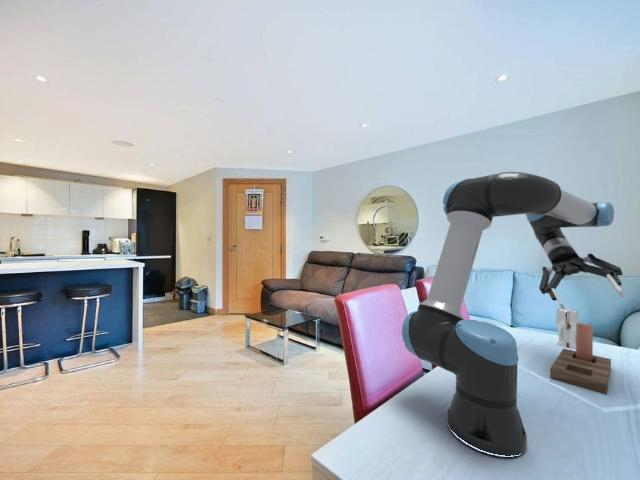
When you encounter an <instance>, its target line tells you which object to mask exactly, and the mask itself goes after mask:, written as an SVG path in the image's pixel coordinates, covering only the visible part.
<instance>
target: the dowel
mask: <svg viewBox="0 0 640 480" xmlns="http://www.w3.org/2000/svg"><path fill="white" fill-rule="evenodd" d="M593 331H594V325H591V324H588V323H583V322H579V323H576V348H575V351H576V359H579V360H584V361H588V362H593V352H594V350H593V345H594V342H593V341H594V339H593V338H594V336H593V335H594V333H593Z"/></svg>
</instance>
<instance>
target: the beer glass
mask: <svg viewBox="0 0 640 480" xmlns="http://www.w3.org/2000/svg"><path fill="white" fill-rule="evenodd" d="M579 312H580V311H578V310H575V309H569V308H565V309H564V310H562V308H557V309H556V317H555V324H556V329H557V333H558V341H557V345H558V346H560V347H563V348H566V349H567V348H568V349H576V323H580V314H579Z"/></svg>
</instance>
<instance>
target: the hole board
mask: <svg viewBox="0 0 640 480" xmlns="http://www.w3.org/2000/svg"><path fill="white" fill-rule="evenodd" d="M611 366H612V359H611V358H609V357H604V356H603V357H602V356H597V355H593V362H588V361H584V360H579V359H576V350H572V349H567V348H563V349H562V350H561V351H560V352H559V354H558V356H557V357H556V359H555V361H554V362H553V364H552V365H551V367H550V370H549V375H550V376H549V377H550V378H549V379H551V380H550V381H549V382H550V383H554V384H555V381H558V382H561V383H563V384H564V383H565V384H568V385H571V386H575V387H578V388H582V389H586V390H588V391H591V392H596V393H599V394H602V395H606V396H607V394H608V389H609V388H608V387H609V382H610V381H609V380H610V376H611V370H612V367H611ZM552 380H555V381H552Z"/></svg>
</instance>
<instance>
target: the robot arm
mask: <svg viewBox="0 0 640 480" xmlns="http://www.w3.org/2000/svg"><path fill="white" fill-rule="evenodd" d="M442 205H443V212H444V214H445V215H446V220H447V221H448V222H449V227H448V230H447V232H446V233H447V234H446V235H445V236H446V237H445V239H444V243H443V246H442V249H441V253H440V255H439V260H438V261H437V264H436V265H437V266H436V269H435V272H434V274H433V275H434V276H433V278H432V281H431V284H430V287H429V288H430V289H429V291H428V295H427V298H426V299H425V300H423V301H422V302H420V303H419V304H418V308H417V310H415V311H411V312H409V313H408V315H406V316H405V318H404V320H403V323H402V325H401V326H402V327H401V337H402V341H403V343H404V346H405V348H406V349H407V351H408V352H409V353H410V354H412V355H414V356H416V357H417V358H418V359H420V360H422V361H425V362H428V363H430V364H432V365H434V366H436V367H439V368H440V369H443V370H446V371H447V372H450V373H452V374H454V375H455V391H454V393H453V397H452V400H451V402H450V406H449V408H448V409H447V413H446V417H447V418H446V423H447V422H448V425H449V427H450V429H451V430H452V431H453V432H454V433H455V434H456V435H457V436H458V437H459V438H461V439H462V440H464V441H465V442H467V443H468V444H470V445H472V446H474V447H476V448H478V449H480V450H483V451H486V452H489V453H493V454H498V455H505V456H511V455H513V456H514V455H519V454H521V453H523V452H524V451H525V450H526V451H527V447H528V446H527V445H528V444H527V443H528V437H527V431H526V429H525V427H524V423H523V420H522V417H521V414H520V410H519V409H518V404H517V403H518V402H517V401H518V395H517V393H518V362H519V355H518V347H517V340H516V338H515V337H514V336H513V335H512V334H511V333H510V332H509V331H508V330H506V329H504V328H502V327H500V326H498V325H496V324H493V323H489V322H487V321H479V320H476V319H465V317H464V315H463V314H462V312H461V308H462V305H463V301H464V298H465V295H466V293H467V287H468V284H469V281H470V278H471V274H472V270H473V267H474V263H475V259H476V255H477V252H478V250H479V249H478V248H479V245H480V242H481V237H482V234H483V231H485V230H488V229H489V228H490V227H491V225H492V222H493V218H495V217H504V216H505V217H506V216H507V217H508V216H515V215H525V216H526V219H527V221H528V222H529V224H530V226H531V228H532V230H533V234H534V236H535V239H537V241H538V243H539V244H540V246H541V247H542V249H543V251H544V253H545V255H546V257H547V258H548V260H549V263H551V265H552V266H550V267H547V266H543V267H542V275H541V280H540V282H539V288H538V289H539V290H540V292H541V294H542V295H545V294H548V295H549V297H550V299H551V301H557V303H558V304H559V306H560V309H562V310H564V309H566V308H565V306H564V303H563V302H562V301H561V299H560V296H559V295H558V292H557V291H556V289H557V288H558V286H559V284H560V283H561V281H562V280H564V278H565V277H566V276H568V277H569V276H572V275H573V274H574V275H575V274H579V273H580V272H582V273H584V274H585V273H586V274H587V273H588V274H592V275H597V276H601V277H603V278H607V280H608V282H609V283H610V285H611V286H612V287H613V289H615V291H616V292H617V294H618V295H619V297H621V298H625V294H624V291H623V290H622V288H621V286H622V281H621V280H620V278H619V277H618V276H622V275H623V271H622V268H621V267H619V266H618V265H615V264H613V263H610V262H608V261H605V260H603V259H601V258H598V257H596V256H595V255H594V254H593V253H588V254H587V256H586V257H580V255H578V252H576V249H574V247H573V246H572V244H571V243H570V242H569V240H568V239H567V238H566V235H564V233H563V231H562V230H561V228H589V227H590V228H599V227H608V226H610V225H612V224H613V222H614V218H615V210H614V207H613V204H612V203H610V202H607V201H605V202H604V201H603V202H600V201H597V202H590V201H589V200H585V199H583V198H582V197H579V196H577V195H575V194H572V193H570V192H567V191H565V190H563V189H562V188H561V186H560V185H559V184H558V183H557V182H555V181H553V180H552V179H549V178H547V177H544V176H541V175H537V174H532V173H527V172H522V171H521V172H519V171H503V172H500V173H494V174H490V175H489V174H488V175H483V176H479V177H473V178H465V179H463V180H460V181H456V182H454V183H452V184H451V185H450V186H448V188H447V189H446V190H445V193H444V195H443V199H442ZM588 263H589V264H588ZM591 264H592V265H591ZM553 272H554V275H553V277H551V275H552V273H553ZM550 278H551V279H550ZM448 425H447V426H448ZM526 451H525V452H526ZM525 452H524V453H525ZM524 453H523V454H524Z"/></svg>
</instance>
